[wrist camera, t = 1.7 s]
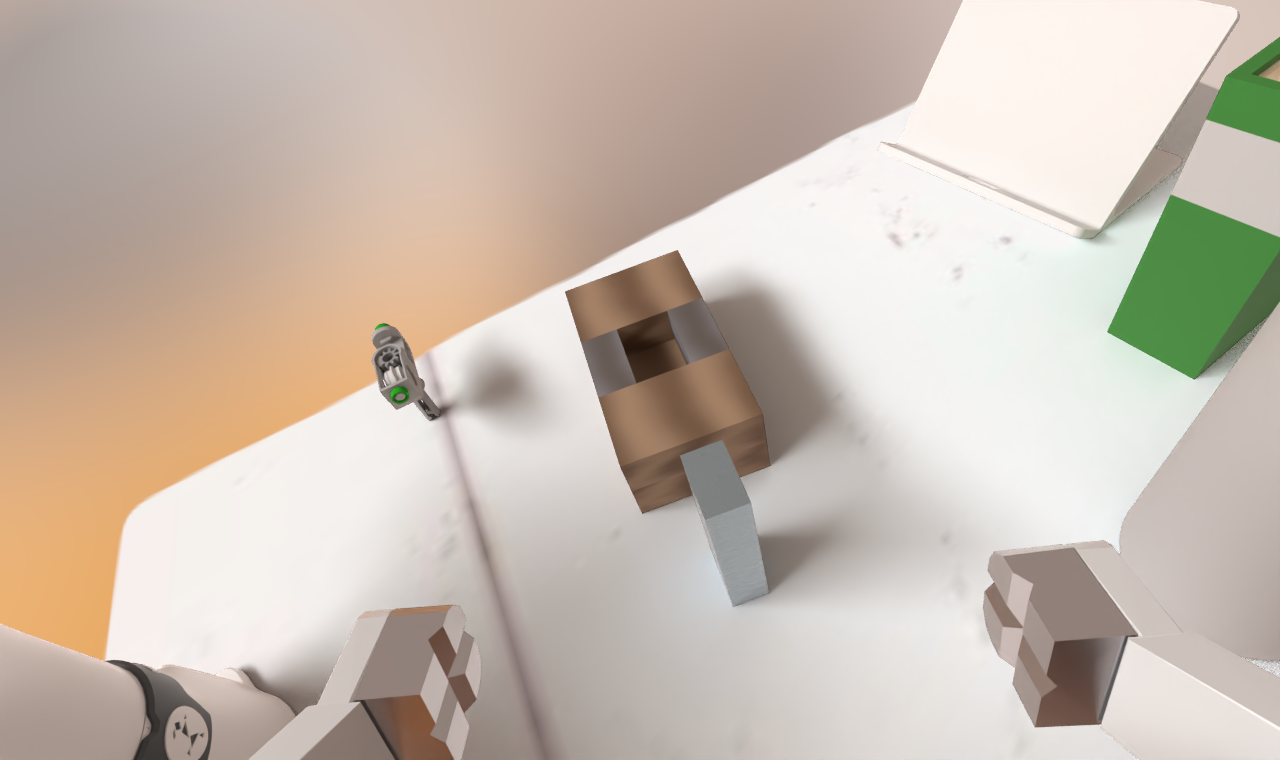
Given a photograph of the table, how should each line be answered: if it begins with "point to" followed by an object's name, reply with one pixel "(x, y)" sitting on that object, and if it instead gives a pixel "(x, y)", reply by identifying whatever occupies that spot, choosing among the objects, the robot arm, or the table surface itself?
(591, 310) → the brown boxy piece
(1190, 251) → the hardback book
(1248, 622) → the cylinder vase
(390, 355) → the mechanical component
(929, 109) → the tablet stand
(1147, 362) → the table surface
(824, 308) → the table surface
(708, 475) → the tall rectangular metal block
